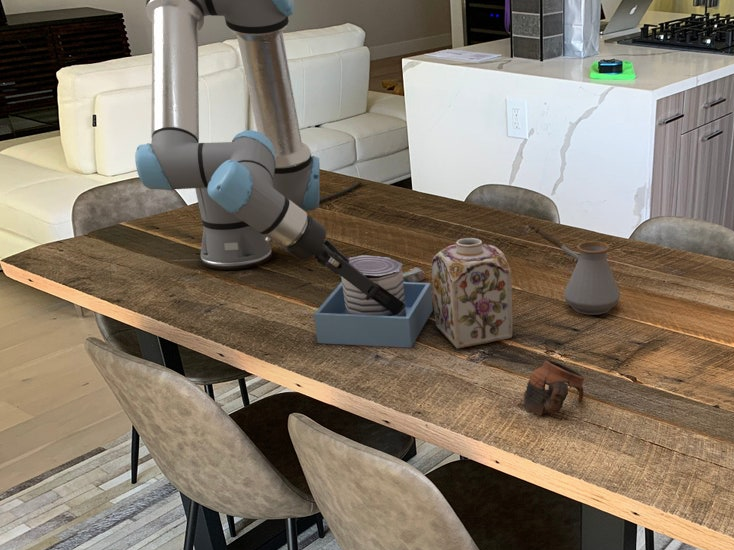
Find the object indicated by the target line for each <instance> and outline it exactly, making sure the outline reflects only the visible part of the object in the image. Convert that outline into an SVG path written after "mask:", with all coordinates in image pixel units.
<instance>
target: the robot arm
mask: <svg viewBox="0 0 734 550" xmlns="http://www.w3.org/2000/svg"><path fill="white" fill-rule="evenodd" d="M145 2H146V3H145V6H146V7H145V14H146V16H147V19H148V20H149V22H151V24H152V25H151V26H152V27H151V30H152V31H151V38H152V39H151V41H152V42H151V122H150V123H151V124H150V125H151V126H150V127H151V132H150V133H151V135H150V136H151V137H150V138H151V142H149V143H145V144H139V145H138V146H137V147H136V151H135V153H134V154H135V155H134V157H135V158H134V160H135V168H136V172H137V176H138V179H139V180H140V182H141V183H142V185H143V187H145V188H147V189H149V190H160V191H161V190H162V191H174V190H187V189H189V190H190V189H195V194H196V195H195V196H196V200H197V204H198V208H199V213H200V217H201V218H200V219H201V222H202V227H203V231H202V239H201V246H200V260H201V264H202V265H203V266H204V267H206V268H208V269H212V270H219V271H220V270H221V271H237V270H244V269H249V268H250V269H251V268H254V267H257V266H260V265H263V264H265V263H268V262H269V261H270V260H271V259H272V257H273V253H272V247H271V245H270V243H271V242H273V243H274V244H276V245H277V246H279V247H280V248H283V249H284V251H285V252H287V253H288V254H289V255H291V256H292V257H294V258H295V259H296V260H298V261H301V262H304V261H308V260H309V259H311V258H312V257H313V258H314V259H315V260H316V261H317V263H318V264H320V265H321V266H323V267H325V268H328V269H329V270H330V271H331V272H333V273H334V274H335V275H339V276H340V277H341V276H342V277H343V278H344V279H346V280H347V281H348V282H350V283H351V284H352V285H354V286H355V287H356V288H358V289H359V290H360V291H362V292H363V293H364V294H366V295H367V296H366V298H365V299H367V300H369V299H370V298H371V299H373V300H375V301H376V302H377V303H379V304H380V305H382V306H383V307H385V308H386V309H387V310H389V311H390V312H392V313H393V314H394V315H397V314H398V312H399V311H400V310H401V308H402V307H403V306H404V305H405V304H404V303H403V302H402V301H400V300H399V299H398V298H396V297H395V296H393V295H392V294H391V293H389V292H388V291H387V290H385V289H384V288H382V287H381V286H380V285H378V284H376V283H374V282H373V281H371V280H370V279H369V278H367V277H366V276H365V275H364V274H362V273H361V272H360V271H359V270H357V269H356V268H355V267H353V266H352V265H351V264H350V263H349V259H348V258H349V256H348V255H347V254H344V253H342V251H340V249H338V248H337V247H336V246H335V245H334V244H333V243H332V242H331V241H329V240H328V239H326V236H327V229H326V227H325V225H324V224H322V223H321V222H320V221H318V220H317V219H316V218H314V217H313V216H311V215H310V214H309V215H308V213H307V212H312V211H316V210H317V209H318V208H319V205H320V203H321V202H325V201H327V200H330V199H332V198H335V197H338V196H340V195H344V194H346V193H349V192H350V191H352V190H354V189H356V188H357V187H359V186H360V185H362V181H359V182H357V183H355V184H353V185H352V186H349V187H348V188H346V189H343V190H341V191H338V192H336V193H333V194H331V195H328V196H325V197H322V198H320V197H321V183H320V182H321V167H320V158H319V157H318V156H316V155H312V152H311V148H310V147H309V146H308V145H307V144H306V143H304V142H303V141H302V136H301V129H300V125H299V124H300V123H299V119H298V112H297V108H296V102H295V96H294V90H293V85H292V79H291V73H290V68H289V62H288V56H287V49H286V45H285V44H286V43H285V38H284V31H285V30H286V28H288V26H289V25H290V21H289V17H291V16H293V15H294V14H295V10H296V9H295V1H294V0H145ZM207 16H211V17H212V16H213V17H215V16H216V17H224V20H225V26H226V28H227V29H228V30H229V31H230V32H232V33H233V34H235V35H236V38H237V42H238V47H239V52H240V56H241V61H242V66H243V71H244V76H245V80H246V85H247V90H248V94H249V99H250V104H251V108H252V113H253V117H254V118H253V119H254V123H255V127H256V128H255V129H256V130H243V131H241V132H239V133H236V135H235V136H233V138H232V139H231V141H219V142H200V133H199V132H200V128H199V127H200V126H199V125H200V123H199V122H200V121H199V120H200V119H199V116H200V115H199V113H200V112H199V111H200V110H199V109H200V108H199V106H200V104H199V101H200V99H199V31H200V30H201V29H202V28H203V26H204V25H205V17H207ZM351 257H354V256H353V255H351ZM351 257H350V258H351Z"/></svg>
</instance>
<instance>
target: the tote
mask: <svg viewBox="0 0 734 550" xmlns="http://www.w3.org/2000/svg"><path fill="white" fill-rule="evenodd" d="M403 286H404V297H405V308H406V317H400V316H378V315H357V314H346V309H345V301H344V293H343V286H342V281H341V282H340V283H339V284H338V285H337V286H336V287H335V288H334V290H333V291H332V292H331V293H330V295H329V296H328V297H327V298H326V299H325V301H324V302H323V303H322V304H321V305H320V306H319V307H318V309H317V310H316V311H315V312H314V313H313V319H314V326H315V333H316V340H317V344H327V345H348V346H349V345H351V346H368V347H369V346H371V347H387V348H390V347H391V348H408V349H409V348H410V349H411V348H412V347H413V345H414V344H415V342H416V341H417V339H418V337H419V335H420V333H421V332H422V330H423V328H424V327H425V325H426V323H427V322H428V319H429V318H430V316H431V315H432V312H433V308H434V306H433V293H432V283H431V282H415V283H414V282H403Z"/></svg>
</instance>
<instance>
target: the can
mask: <svg viewBox="0 0 734 550" xmlns="http://www.w3.org/2000/svg"><path fill="white" fill-rule="evenodd" d="M348 259H349V263H350V264H351V265H352V266H353V267H355V268H356V269H357V270H359V271H360V272H361V273H362V274H364V275H365V276H366V277H367V278H369V279H370V280H371V281H373V282H374V283H376V284H378V285H380V286H381V287H382V288H384V289H385V290H387V291H388V292H389V293H391V294H392V295H393V296H395V297H396V298H398V299H399V300H400V301H402V302H403V303H404V304H405V297H404V286H403V275H402V274H403V263H402V262H400V261H398V260H395V259H393V258H391V257H389V256H379V255H365V254H363V255H356V256H353V257H348ZM340 277H341V282H342V286H343V293H344V301H345V309H346V314H357V315H378V316H400V317H406V308H405V305H404V306H403V307H402V308H401V310H400V311H399V312H398V314H397V315H394V314H393V313H392V312H390V311H389V310H387V309H386V308H385V307H383V306H382V305H380V304H379V303H377V302H376V301H375V300H373V299H371V298H370V299H369V300H367V299H365V298H366V296H367V295H366V294H364V293H363V292H362V291H360V290H359V289H358V288H356V287H355V286H354V285H352V284H351V283H350V282H348V281H347V280H346V279H344V278H343V277H342V276H340Z"/></svg>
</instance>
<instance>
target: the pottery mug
mask: <svg viewBox="0 0 734 550" xmlns="http://www.w3.org/2000/svg"><path fill="white" fill-rule="evenodd" d="M541 364H542V365H540V366H538V367H536V369H535V370H533V371H532V372H531V374H530V375H529V380H528V382H527V385H526V389H525V390H524V392H523V394H522V395H523V398H522V402H521V403H522V404H521V405H523V406H524V408H526V409H527V410H528V411H530V412H531V413H533V414H535V415H537V416H540V417H542V415H543V411H544V409H545V410H546V411H547V412H548V413H550V414H557V413H559V412H561V409H562V408H563V404H564V401H566V398H567V396H568V395H569V387H573V388H575V389H576V390H577V392H578V398H577V401H578V403H582V402H583V399H584V394H585V393H584V392H585V391H584V386H583V382H584V381H585V378H584V376H583V375H582V374H581V373H579V372H578V371H576V370H574V369H572V368H570V367H567V366H565V365H564V364H561V363H559V362H556V361H553V360H550V359H543V362H542V363H541ZM546 385H548V386H547V388H548V389H546Z"/></svg>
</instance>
